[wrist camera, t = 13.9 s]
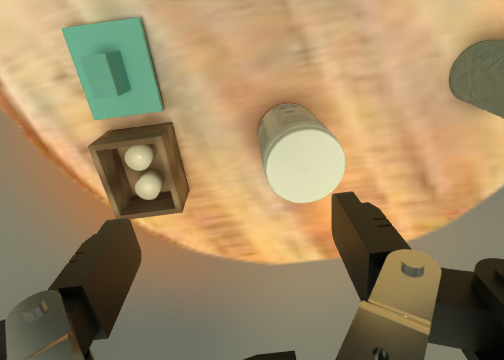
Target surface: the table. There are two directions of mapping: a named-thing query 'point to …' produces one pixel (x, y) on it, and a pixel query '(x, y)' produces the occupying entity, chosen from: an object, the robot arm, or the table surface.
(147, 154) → the cream ping pong ball
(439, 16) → the table surface
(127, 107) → the lid
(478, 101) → the grey green pot
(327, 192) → the supplement tub
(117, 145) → the crate
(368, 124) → the table surface
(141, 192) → the pale sphere
